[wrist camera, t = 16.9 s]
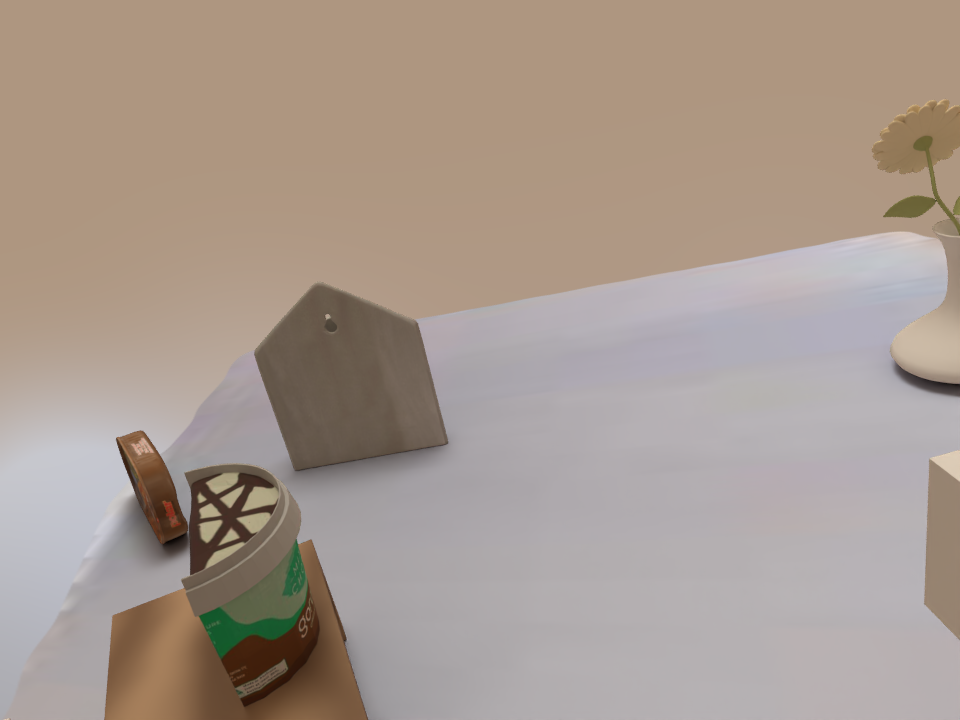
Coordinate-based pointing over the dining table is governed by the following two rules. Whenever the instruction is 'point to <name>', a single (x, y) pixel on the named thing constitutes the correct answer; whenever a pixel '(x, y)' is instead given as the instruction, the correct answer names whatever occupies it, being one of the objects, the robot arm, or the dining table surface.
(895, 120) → the flower in vase
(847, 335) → the dining table surface
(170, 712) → the walnut shelf
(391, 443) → the planter
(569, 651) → the dining table surface
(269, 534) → the food container
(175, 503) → the tin
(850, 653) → the dining table surface
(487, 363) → the dining table surface
